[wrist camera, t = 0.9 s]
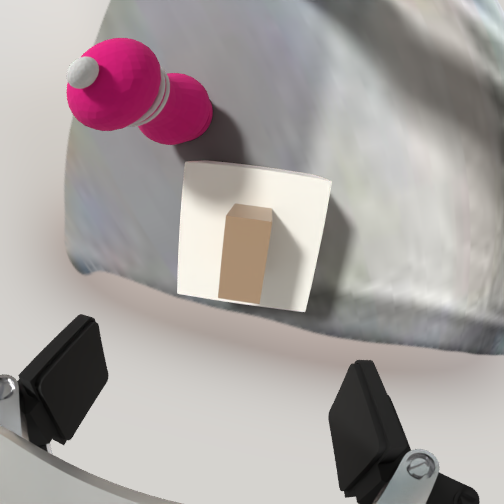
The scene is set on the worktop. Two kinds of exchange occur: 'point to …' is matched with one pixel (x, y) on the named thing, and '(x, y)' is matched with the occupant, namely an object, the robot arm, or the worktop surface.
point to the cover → (250, 233)
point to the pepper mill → (136, 93)
